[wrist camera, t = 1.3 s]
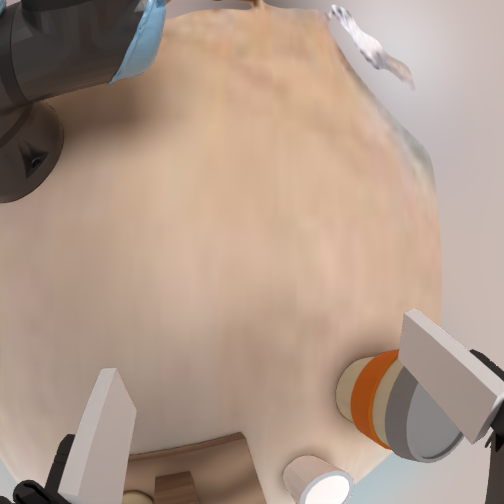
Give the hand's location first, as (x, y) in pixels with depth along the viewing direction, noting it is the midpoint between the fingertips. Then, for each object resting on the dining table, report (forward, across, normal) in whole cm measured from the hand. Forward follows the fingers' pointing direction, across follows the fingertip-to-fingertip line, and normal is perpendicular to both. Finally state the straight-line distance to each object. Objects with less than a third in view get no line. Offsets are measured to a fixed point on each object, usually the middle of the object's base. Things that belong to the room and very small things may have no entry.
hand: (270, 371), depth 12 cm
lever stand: (+8, -11, -25) cm, 28 cm away
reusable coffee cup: (+16, +14, -21) cm, 30 cm away
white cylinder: (+10, +4, -28) cm, 30 cm away
